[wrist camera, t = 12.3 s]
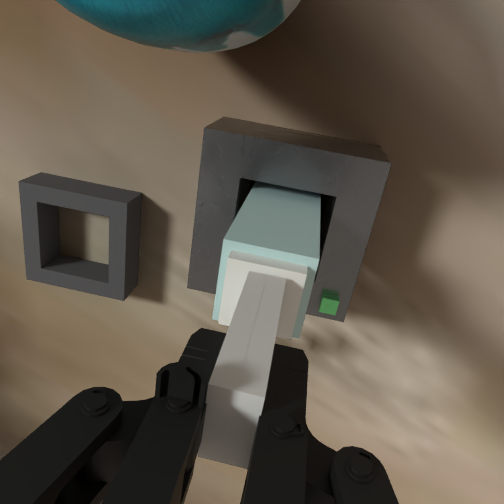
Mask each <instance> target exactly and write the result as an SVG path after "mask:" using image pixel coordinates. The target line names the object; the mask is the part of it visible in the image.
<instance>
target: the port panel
mask: <svg viewBox="0 0 504 504" xmlns="http://www.w3.org/2000/svg"><path fill="white" fill-rule="evenodd" d="M391 164H392V163H391V162H390V160H389V159H388V157H387V156H386V154H385V153H384V151H383V150H382V148H381V147H380V146H378V145H372V144H367V143H362V142H356V141H351V140H346V139H340V138H335V137H330V136H324V135H319V134H314V133H308V132H303V131H298V130H292V129H287V128H282V127H276V126H271V125H266V124H260V123H255V122H250V121H244V120H239V119H234V118H228V117H222V118H221V119H219V120H217V121H215V122H214V123H212V124H210V125H208V126H206V127H205V128H204V135H203V144H202V154H201V163H200V172H199V182H198V191H197V201H196V210H195V219H194V229H193V238H192V248H191V257H190V266H189V276H188V285H187V288H190V289H194V290H199V291H203V292H208V293H213V294H216V288H217V281H218V274H219V267H220V260H221V253H222V246H223V239H224V237H225V235H226V234H227V232H228V230H229V228H230V226H231V225H232V223H233V221H234V219H235V218H236V216H237V214H238V212H239V210H240V209H241V207H242V205H243V203H244V201H245V200H246V198H247V196H248V189H249V183H250V180H255V181H260V182H265V183H270V184H275V185H280V186H285V187H290V188H295V189H300V190H305V191H310V192H315V193H320V194H325V195H329V199H328V203H327V207H326V211H325V215H324V219H323V223H322V227H321V231H320V259H319V263H318V267H317V271H316V275H315V279H314V283H313V287H312V291H311V295H310V299H309V303H308V306H307V310H306V314H309V315H313V316H318V317H323V318H327V319H332V320H336V321H341V322H344V319H345V316H346V313H347V309H348V306H349V303H350V299H351V296H352V293H353V289H354V286H355V283H356V280H357V276H358V273H359V270H360V266H361V263H362V260H363V256H364V253H365V250H366V246H367V243H368V240H369V237H370V233H371V230H372V227H373V223H374V220H375V217H376V213H377V210H378V207H379V203H380V200H381V197H382V194H383V190H384V187H385V184H386V180H387V177H388V174H389V170H390V167H391Z"/></svg>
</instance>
